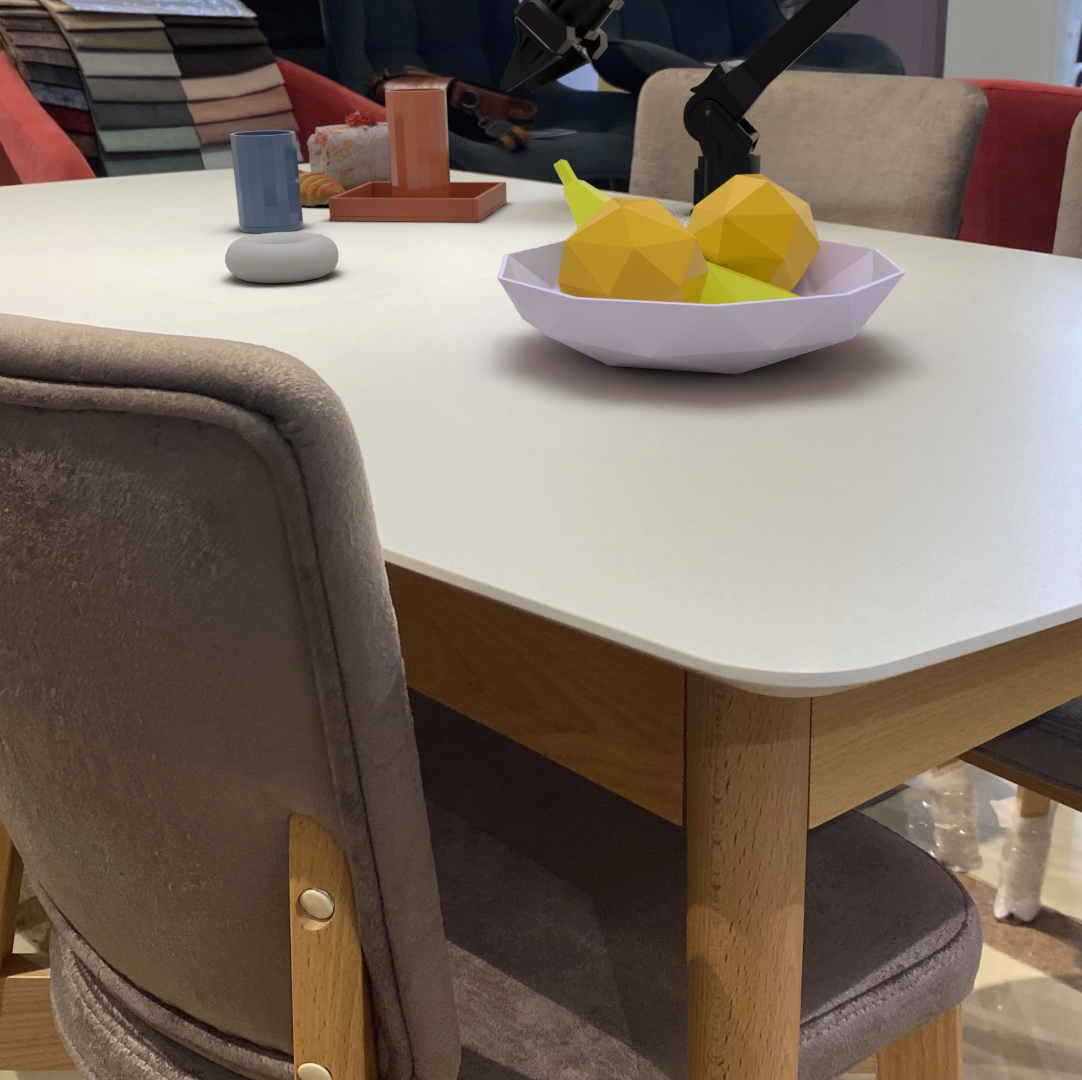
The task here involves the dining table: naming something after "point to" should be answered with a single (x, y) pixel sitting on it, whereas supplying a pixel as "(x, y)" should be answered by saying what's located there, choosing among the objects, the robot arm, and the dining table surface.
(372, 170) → the food item
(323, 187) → the pastry
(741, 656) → the dining table surface
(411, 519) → the dining table surface
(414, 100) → the terracotta cup
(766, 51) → the robot arm
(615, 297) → the fruit bowl
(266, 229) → the slate cup
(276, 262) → the donut
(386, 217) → the tray
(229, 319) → the dining table surface
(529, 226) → the dining table surface
